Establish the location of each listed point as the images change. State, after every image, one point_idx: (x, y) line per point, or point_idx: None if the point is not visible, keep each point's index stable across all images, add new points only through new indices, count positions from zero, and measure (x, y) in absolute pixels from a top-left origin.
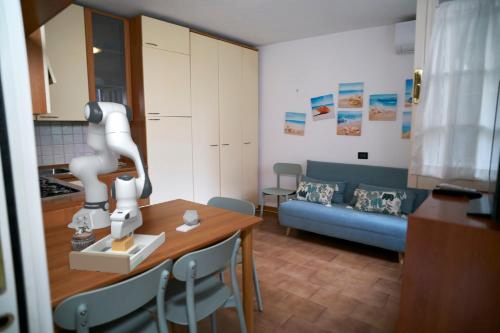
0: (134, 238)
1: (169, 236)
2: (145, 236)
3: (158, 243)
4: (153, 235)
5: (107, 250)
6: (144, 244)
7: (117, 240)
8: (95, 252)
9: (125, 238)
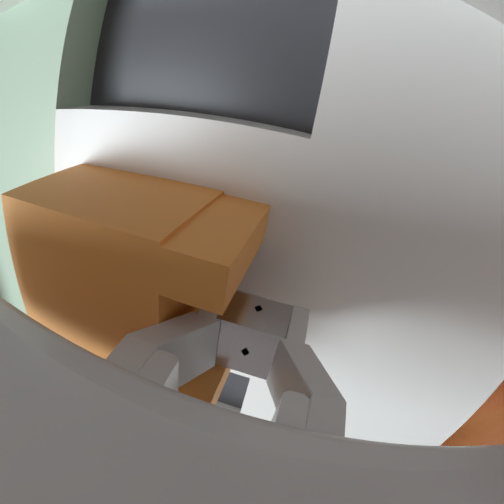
0: (453, 313)
1: (470, 443)
2: (464, 391)
3: None
4: (455, 429)
5: (80, 111)
6: (252, 408)
7: (36, 256)
8: (49, 33)
9: (113, 344)
